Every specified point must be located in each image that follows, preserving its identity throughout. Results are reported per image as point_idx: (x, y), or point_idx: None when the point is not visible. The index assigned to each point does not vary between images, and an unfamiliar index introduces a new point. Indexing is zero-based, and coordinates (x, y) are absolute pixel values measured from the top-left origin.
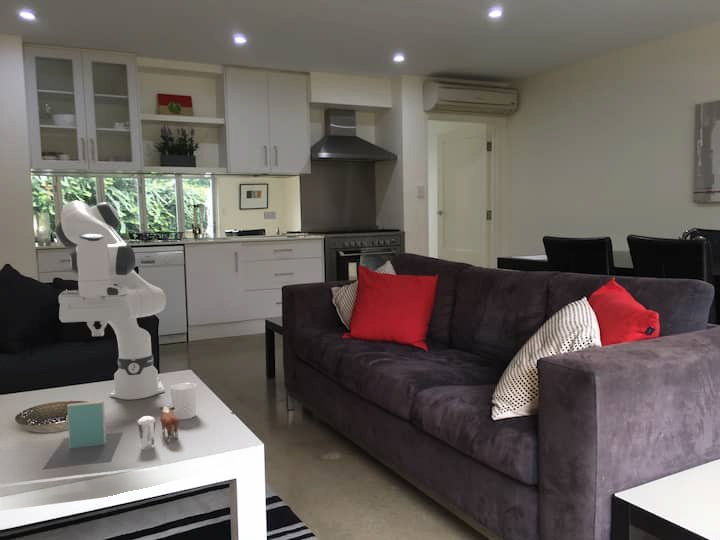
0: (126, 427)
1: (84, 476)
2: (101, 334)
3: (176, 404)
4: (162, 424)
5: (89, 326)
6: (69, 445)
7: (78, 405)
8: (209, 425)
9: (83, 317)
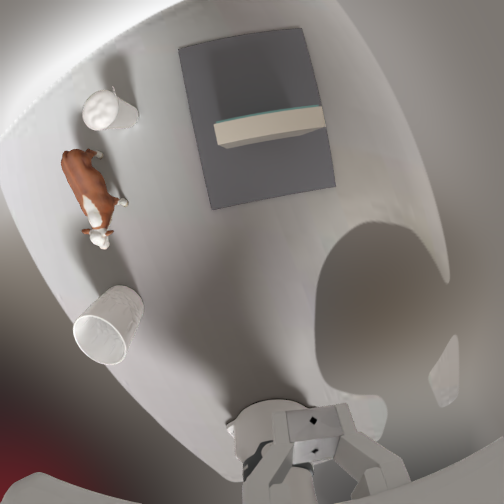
0: (222, 252)
1: (209, 6)
2: (277, 416)
3: (118, 302)
4: (99, 173)
5: (381, 455)
6: (305, 138)
7: (288, 110)
8: (62, 246)
9: (452, 497)
